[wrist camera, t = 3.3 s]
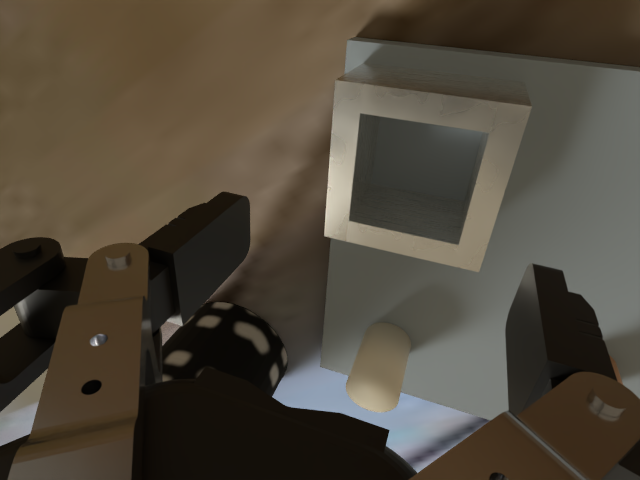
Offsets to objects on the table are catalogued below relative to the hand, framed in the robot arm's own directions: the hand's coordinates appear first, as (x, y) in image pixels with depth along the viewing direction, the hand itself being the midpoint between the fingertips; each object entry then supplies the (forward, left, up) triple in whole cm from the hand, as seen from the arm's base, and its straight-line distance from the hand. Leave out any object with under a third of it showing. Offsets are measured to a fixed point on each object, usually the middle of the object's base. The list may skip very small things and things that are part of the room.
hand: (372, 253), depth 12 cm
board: (+6, +5, -10) cm, 13 cm away
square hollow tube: (0, 0, -9) cm, 9 cm away
